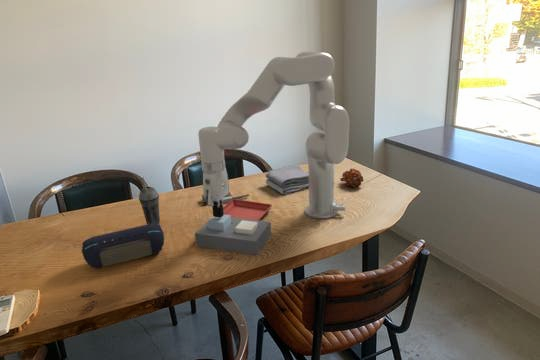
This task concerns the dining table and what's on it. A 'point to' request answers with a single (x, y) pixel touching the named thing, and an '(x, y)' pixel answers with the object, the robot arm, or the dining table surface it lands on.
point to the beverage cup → (150, 204)
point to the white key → (246, 227)
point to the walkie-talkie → (224, 198)
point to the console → (234, 237)
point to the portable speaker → (123, 245)
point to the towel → (288, 179)
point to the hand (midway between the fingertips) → (218, 216)
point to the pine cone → (352, 177)
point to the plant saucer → (246, 209)
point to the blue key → (219, 223)
